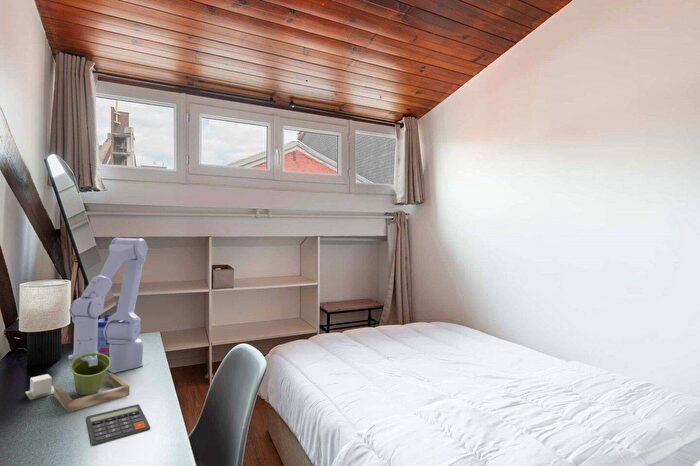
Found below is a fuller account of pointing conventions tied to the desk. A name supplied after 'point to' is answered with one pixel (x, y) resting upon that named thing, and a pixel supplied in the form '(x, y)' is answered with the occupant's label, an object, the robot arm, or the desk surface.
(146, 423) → the calculator
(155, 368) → the desk surface
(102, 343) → the ink cartridge box
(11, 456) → the desk surface
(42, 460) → the desk surface
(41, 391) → the cream block
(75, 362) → the plant pot
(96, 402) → the brown bent bar
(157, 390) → the desk surface
